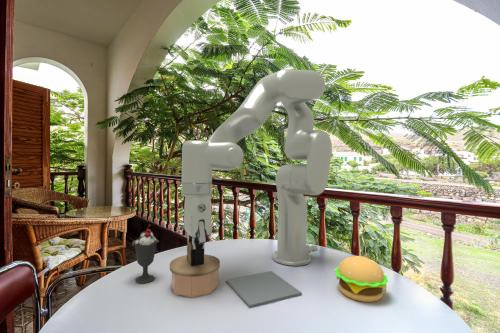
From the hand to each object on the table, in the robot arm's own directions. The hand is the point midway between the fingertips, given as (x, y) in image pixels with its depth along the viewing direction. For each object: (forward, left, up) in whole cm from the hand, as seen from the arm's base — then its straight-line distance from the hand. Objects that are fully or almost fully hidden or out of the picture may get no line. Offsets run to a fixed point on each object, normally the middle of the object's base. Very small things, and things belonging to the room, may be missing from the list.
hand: (195, 261), depth 66 cm
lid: (0, 0, -1) cm, 1 cm away
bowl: (0, 0, -6) cm, 6 cm away
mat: (-15, +8, -6) cm, 18 cm away
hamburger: (-36, +20, -7) cm, 42 cm away
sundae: (+11, -9, -6) cm, 16 cm away
